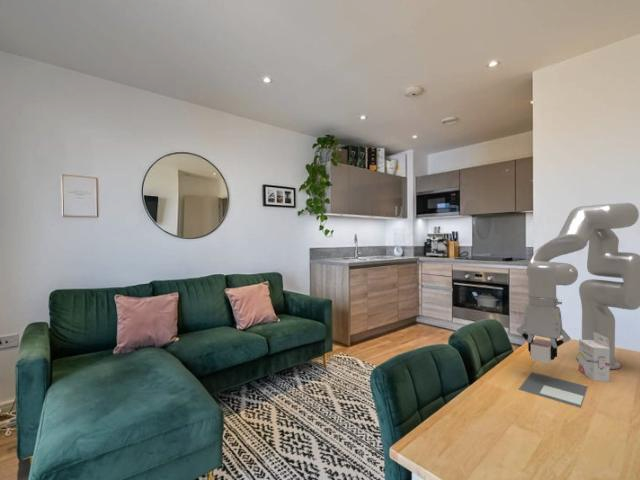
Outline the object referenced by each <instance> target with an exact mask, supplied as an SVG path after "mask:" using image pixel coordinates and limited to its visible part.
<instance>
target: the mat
mask: <svg viewBox="0 0 640 480" xmlns="http://www.w3.org/2000/svg"><path fill="white" fill-rule="evenodd" d="M518 390H519V391H522V392H525V393H528V394H532V395H536V396H539V397H542V398H546V399H548V400H549V399H550V400H552V401H556V402H560V403H563V404H566V405H568V406H569V405H570V406H574V407H576V408H580V409H582V406H583V402H584V400H585V399H584V398H585V396H586V394H587V390H588V385H585V384H582V383H581V384H580V383H575V382H572V381H569V380H564V379H560V378H557V377H553V376H549V375H546V374H541V373H538V372H533V371H531V372H530V373H529V374H528V376H527V377H526V379H525V380H524V381H523V383H522V384H521V385H520V387H519V388H518Z"/></svg>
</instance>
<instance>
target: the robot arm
mask: <svg viewBox="0 0 640 480" xmlns="http://www.w3.org/2000/svg"><path fill="white" fill-rule="evenodd" d="M639 214H640V213H639V209H638V207H637V206H636V205H635V204H634V203H630V202H621V203H620V202H618V203H607V204H605V203H604V204H594V205H583V206H578V207H575V208H573V209H572V210H571V211H570V212H569V214H568V216H567V218H566V220H565V222H564V224H563V226H562V227H561V230H560V232H559V233H558V235H557V236H556V237H555V238H552V239H550V240H549V241H547V242H546V243H544V244H543V245H541V246H539V247H538V248H537V249H536V250H535V252H533V254H532V256H531V258H530V260H529V262H528V265H527V267H526V276H527V277H528V283H527V284H528V303H526V305H525V310H524V315H523V317H524V318H523V323H522V324H521V325H520V326H519V327H518V328H516V332H517V333H518V334H519V335H521V337H522V338H524V340H526V342H527V343H528V344H527V345H528V346H527V348H528V351H527V352H529V353H530V354H529V355H530V356H531V343H532V342H533V341H534V340H535V339H534V338H535V336H536V337H542V338H545V339H546V338H547V339H550V340H549V341H551V343H552V347H551V361H554V360H555V358H557V357H558V348H559V347H560V346H562V345H563V344H565V343H567V342H570V340H571V339H572V338H571V337H570V336H569V334H568V333H567V332H566V331H565V330H564V329H563V320H562V313H561V312H562V311H561V308H560V307H559V306H558V305H563V300H562V299H561V300H560V299H559V298H557V297H558V296H557V286H563V287H564V286H565V287H566V286H570V285H573V284H575V283H576V281H577V280H578V277H579V272H578V269H577V268H576V267H575V265H573V264H571V263H567V262H556V261H551V260H553V259H555V258H557V257H558V258H559V257H561V256H564V255H568V254H572V253H575V252H579V251H581V250H583V249H584V248H586V246H587V245H588V251H587V260H586V269H587V272H588V273H589V274H590V275H593V276H598V277H605V278H606V277H607V278H615V279H622V281H613V280H607V279H606V280H605V279H596V278H594V279H592V278H591V279H586V280H584V281H582V282H581V283H580V285H579V288H578V293H579V299H580V303H581V339H582V340H594V335H593V332H595V333H597V334H600V335H602V336H604V337H606V338H608V339H609V348H610V368H609V370H618V369H620V368H621V363H620V362H619V361H617V360H615V358H616V357H615V356H616V355H615V353H616V352H615V350H616V340H615V339H616V318H615V316H614V314H613V311H612V310H611V309H610V308H615V309H622V310H630V311H634V310H637V309H639V308H640V254H638V253H636V252H624V251H623V252H622V251H619V245H620V244H619V242H620V241H619V237H618V235H617V233H615V232H614V231H613V230H614V229H615V230H616V229H623V228H630V227H632V226H634V225H635V224H637V221H638V220H639V216H640V215H639ZM609 307H610V308H609ZM561 336H562V338H561ZM599 339H600V340H601V341H604V340H603V339H601V338H599ZM575 359H576V360H577V361H578V362H579V353H577V354H576V356H575Z"/></svg>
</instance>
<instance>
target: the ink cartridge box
mask: <svg viewBox="0 0 640 480" xmlns="http://www.w3.org/2000/svg"><path fill="white" fill-rule="evenodd" d="M593 335H594V340H582V338H581V339H578V354H579V361H578V371H579V372H580V373H581V374H583V375H585V377H588V379H590V380H592V381H593V382H594V381H595V382H606V383H609V382H610V369H609V368H610V348H609V339H608V338H606V337H604V336H602V335H600V334H597V333H595V332H593ZM599 338H601V339H603V340H604V341H601V340H600V339H599Z"/></svg>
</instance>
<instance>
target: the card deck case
mask: <svg viewBox="0 0 640 480" xmlns="http://www.w3.org/2000/svg"><path fill="white" fill-rule="evenodd" d="M533 340H534V341H533V342H532V343H531V355H530V360H532V361H535V362H540V363H541V362H542V363H545V364H551V362H552V360H551V347H552V343H551V340H549V339H543V338H539V337H537V338H536V337H535V339H533Z"/></svg>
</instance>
